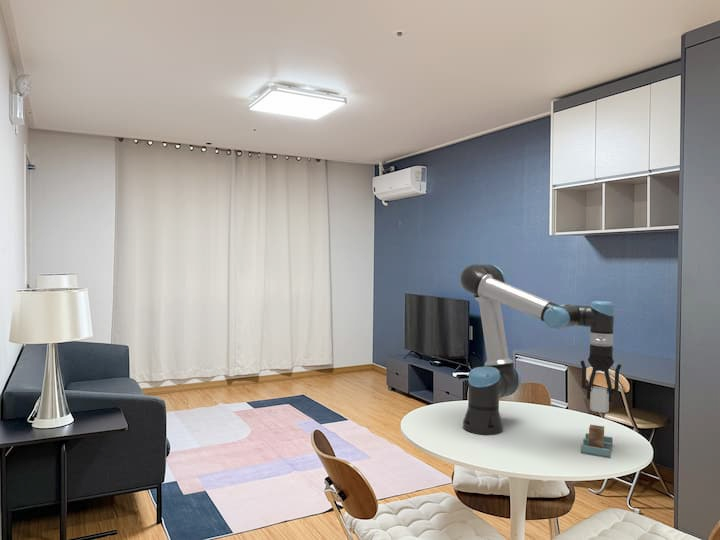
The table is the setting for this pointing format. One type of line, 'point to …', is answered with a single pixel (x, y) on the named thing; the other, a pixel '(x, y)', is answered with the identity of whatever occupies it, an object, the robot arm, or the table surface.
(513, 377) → the robot arm
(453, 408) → the table surface
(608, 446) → the teal-ribbed grey panel
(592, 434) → the walnut plug
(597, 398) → the white rectangular block
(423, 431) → the table surface
